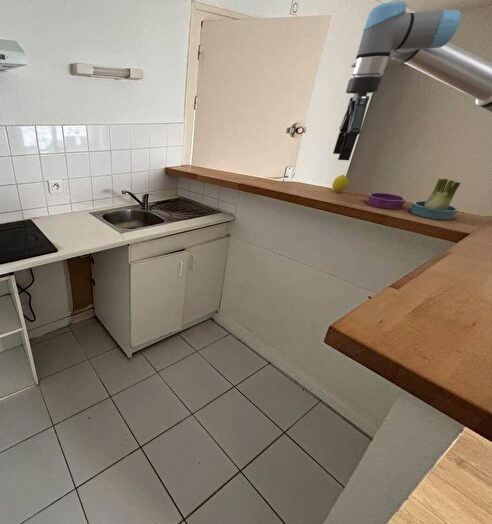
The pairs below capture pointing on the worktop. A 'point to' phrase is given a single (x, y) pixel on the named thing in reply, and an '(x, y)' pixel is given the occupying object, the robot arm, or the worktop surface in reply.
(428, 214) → the teal bowl
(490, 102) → the robot arm
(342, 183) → the lemon
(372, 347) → the worktop surface
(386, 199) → the plum bowl
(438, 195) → the fennel bulb
